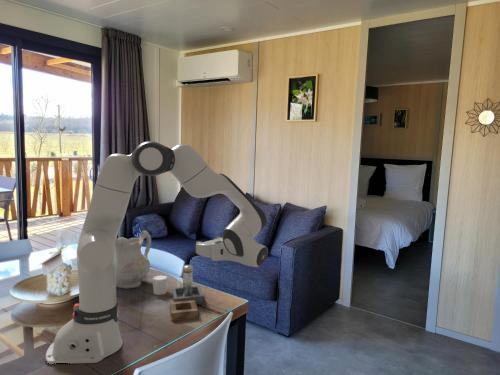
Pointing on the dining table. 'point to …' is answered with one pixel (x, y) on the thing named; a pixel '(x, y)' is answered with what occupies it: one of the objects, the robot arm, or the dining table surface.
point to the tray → (196, 295)
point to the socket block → (183, 310)
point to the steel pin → (187, 280)
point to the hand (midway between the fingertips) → (206, 241)
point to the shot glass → (160, 284)
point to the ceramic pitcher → (131, 261)
